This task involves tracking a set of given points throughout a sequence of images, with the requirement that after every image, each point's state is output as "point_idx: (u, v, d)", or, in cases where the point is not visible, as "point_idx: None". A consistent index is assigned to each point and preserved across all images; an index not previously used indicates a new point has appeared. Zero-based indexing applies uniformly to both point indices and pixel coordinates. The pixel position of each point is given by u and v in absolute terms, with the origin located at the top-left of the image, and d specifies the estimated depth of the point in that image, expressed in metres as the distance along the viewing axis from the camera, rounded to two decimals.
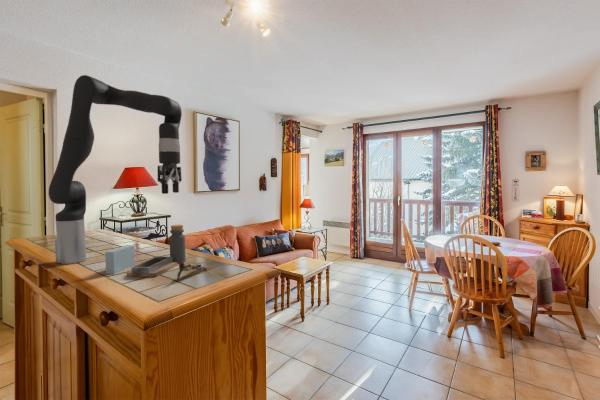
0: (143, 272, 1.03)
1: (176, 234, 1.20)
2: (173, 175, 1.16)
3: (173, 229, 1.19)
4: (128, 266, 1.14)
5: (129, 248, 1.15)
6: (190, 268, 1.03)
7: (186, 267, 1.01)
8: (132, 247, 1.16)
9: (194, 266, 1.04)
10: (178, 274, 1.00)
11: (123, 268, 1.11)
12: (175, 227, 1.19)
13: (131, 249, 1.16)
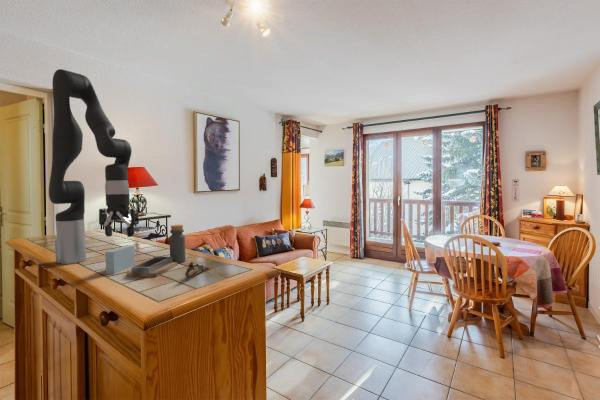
0: (143, 272, 1.03)
1: (176, 234, 1.20)
2: None
3: (173, 229, 1.19)
4: (128, 266, 1.14)
5: (129, 248, 1.15)
6: (197, 268, 1.03)
7: (194, 267, 1.02)
8: (132, 247, 1.16)
9: (200, 265, 1.05)
10: (187, 274, 1.00)
11: (123, 268, 1.11)
12: (175, 227, 1.19)
13: (131, 249, 1.16)
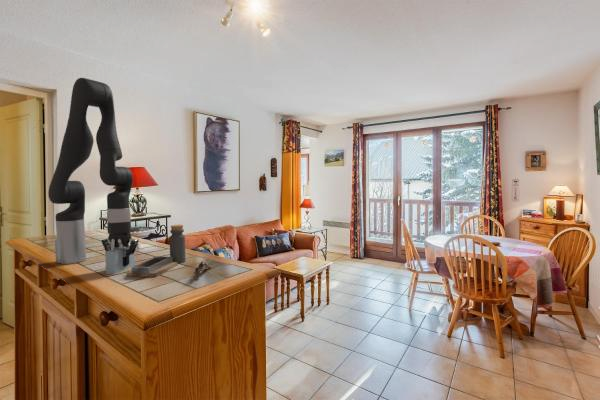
0: (143, 272, 1.03)
1: (176, 234, 1.20)
2: None
3: (173, 229, 1.19)
4: (128, 266, 1.14)
5: None
6: (205, 267, 1.04)
7: (203, 266, 1.03)
8: None
9: (206, 265, 1.06)
10: None
11: (123, 268, 1.11)
12: (175, 227, 1.19)
13: None
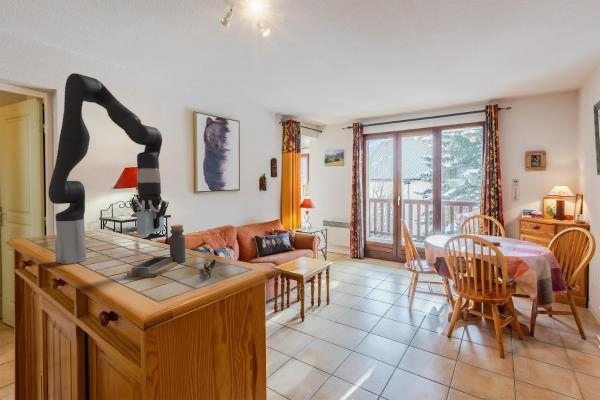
0: (143, 272, 1.03)
1: (176, 234, 1.20)
2: None
3: (173, 229, 1.19)
4: (158, 229, 1.11)
5: None
6: None
7: None
8: None
9: None
10: (209, 272, 1.02)
11: (153, 230, 1.08)
12: (175, 227, 1.19)
13: None
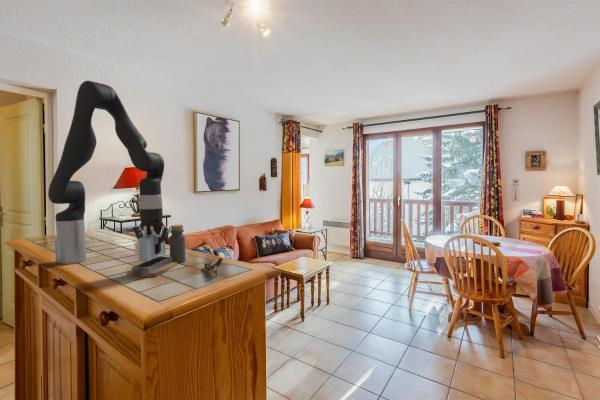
0: (143, 272, 1.03)
1: (176, 234, 1.20)
2: None
3: (173, 229, 1.19)
4: (159, 254, 1.12)
5: None
6: None
7: None
8: None
9: None
10: (216, 270, 1.03)
11: (155, 255, 1.09)
12: (175, 227, 1.19)
13: None
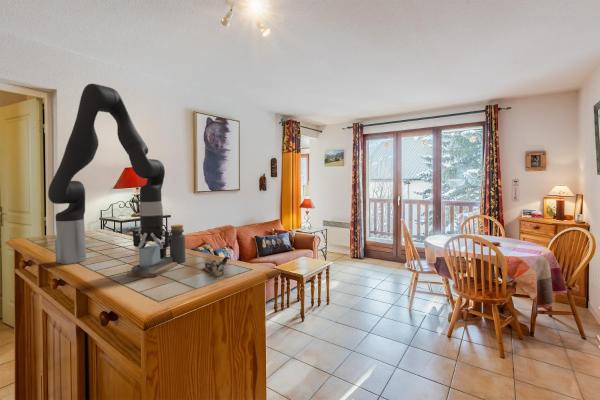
0: (143, 272, 1.03)
1: (176, 234, 1.20)
2: None
3: (173, 229, 1.19)
4: None
5: None
6: None
7: None
8: None
9: None
10: (222, 269, 1.05)
11: None
12: (175, 227, 1.19)
13: None
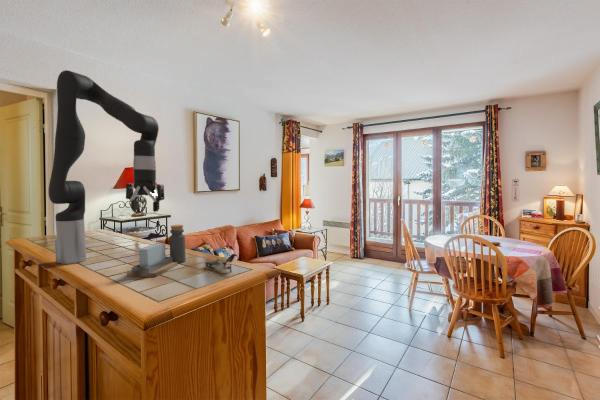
0: (143, 272, 1.03)
1: (176, 234, 1.20)
2: None
3: (173, 229, 1.19)
4: None
5: (161, 245, 1.13)
6: None
7: None
8: (163, 244, 1.14)
9: None
10: (230, 266, 1.09)
11: None
12: (175, 227, 1.19)
13: (162, 246, 1.14)
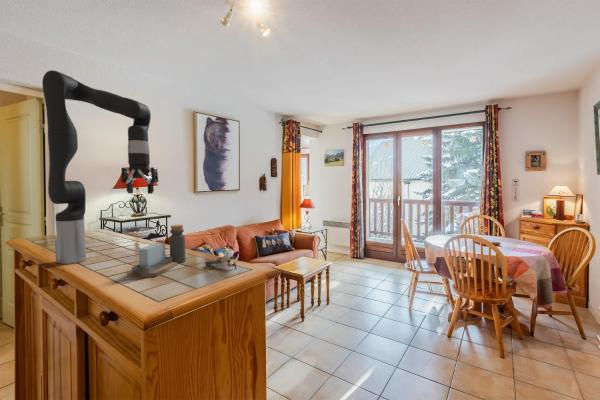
0: (143, 272, 1.03)
1: (176, 234, 1.20)
2: None
3: (173, 229, 1.19)
4: None
5: (161, 245, 1.13)
6: None
7: None
8: (163, 244, 1.14)
9: None
10: None
11: None
12: (175, 227, 1.19)
13: (162, 246, 1.14)
